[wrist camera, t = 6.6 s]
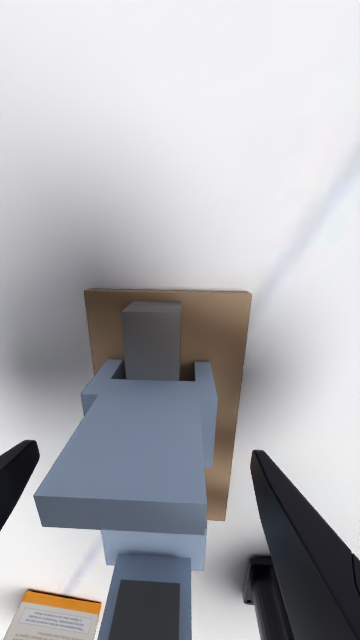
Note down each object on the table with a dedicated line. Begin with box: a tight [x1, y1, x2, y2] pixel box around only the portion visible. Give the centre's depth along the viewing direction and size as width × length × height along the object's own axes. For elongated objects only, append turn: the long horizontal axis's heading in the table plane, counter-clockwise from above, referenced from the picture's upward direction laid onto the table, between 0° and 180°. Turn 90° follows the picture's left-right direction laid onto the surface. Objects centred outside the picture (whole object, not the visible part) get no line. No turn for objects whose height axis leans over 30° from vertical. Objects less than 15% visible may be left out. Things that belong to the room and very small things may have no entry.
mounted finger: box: [97, 524, 207, 640], centre depth 12 cm, size 4×6×7 cm, turn 89°
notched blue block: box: [33, 359, 218, 535], centre depth 9 cm, size 4×6×7 cm, turn 89°
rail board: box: [84, 289, 252, 521], centre depth 13 cm, size 18×9×3 cm, turn 179°
